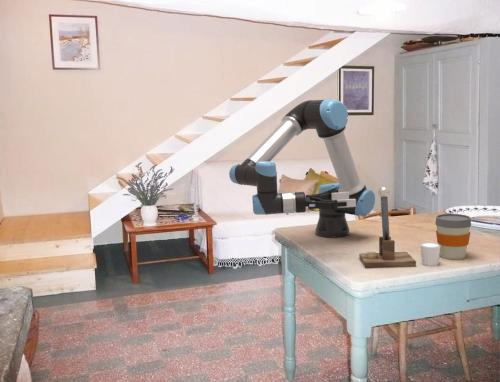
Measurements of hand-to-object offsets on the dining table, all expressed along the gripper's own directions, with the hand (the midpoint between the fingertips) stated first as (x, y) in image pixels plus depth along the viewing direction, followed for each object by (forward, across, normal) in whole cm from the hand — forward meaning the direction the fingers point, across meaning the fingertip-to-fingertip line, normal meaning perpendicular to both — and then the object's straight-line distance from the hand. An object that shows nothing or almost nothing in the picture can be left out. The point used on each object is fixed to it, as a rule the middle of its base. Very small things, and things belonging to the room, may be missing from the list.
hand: (352, 199), depth 193 cm
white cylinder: (+26, +6, -25) cm, 37 cm away
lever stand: (+12, +3, -24) cm, 27 cm away
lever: (+12, +3, -20) cm, 23 cm away
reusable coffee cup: (+38, -2, -25) cm, 45 cm away
